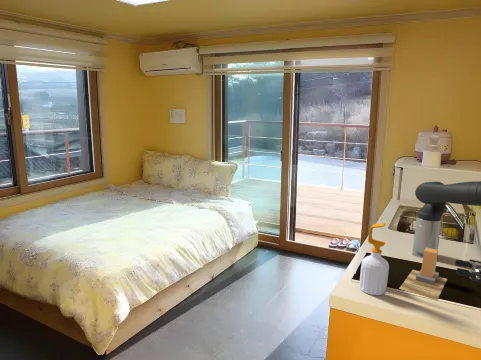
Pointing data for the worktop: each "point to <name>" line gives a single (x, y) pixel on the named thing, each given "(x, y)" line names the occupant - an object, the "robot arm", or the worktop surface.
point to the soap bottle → (374, 268)
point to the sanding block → (428, 267)
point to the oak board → (423, 286)
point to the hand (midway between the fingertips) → (456, 266)
